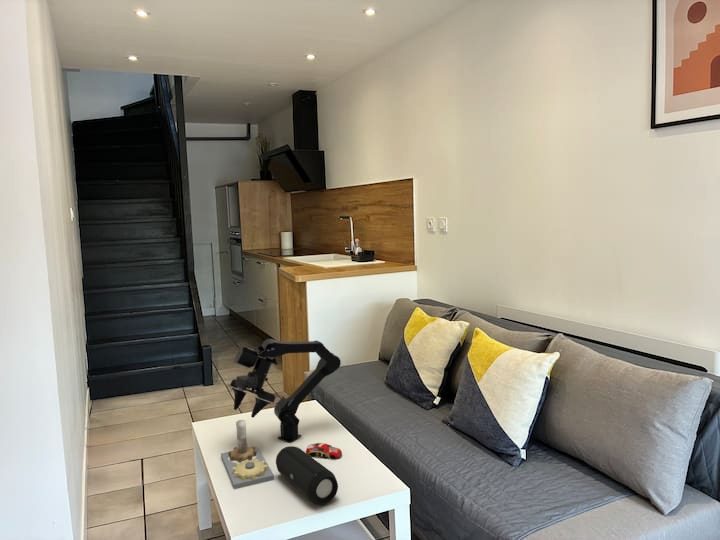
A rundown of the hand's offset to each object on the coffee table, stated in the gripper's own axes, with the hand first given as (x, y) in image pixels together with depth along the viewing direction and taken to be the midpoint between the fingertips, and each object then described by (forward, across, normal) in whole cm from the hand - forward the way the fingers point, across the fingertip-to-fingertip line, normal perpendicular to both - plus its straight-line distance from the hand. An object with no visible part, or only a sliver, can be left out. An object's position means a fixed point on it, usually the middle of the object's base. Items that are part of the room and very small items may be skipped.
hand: (243, 413), depth 195 cm
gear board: (+16, +11, 0) cm, 19 cm away
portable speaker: (+13, +37, 0) cm, 39 cm away
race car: (+4, +27, +18) cm, 33 cm away
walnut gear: (+13, +6, +2) cm, 15 cm away
